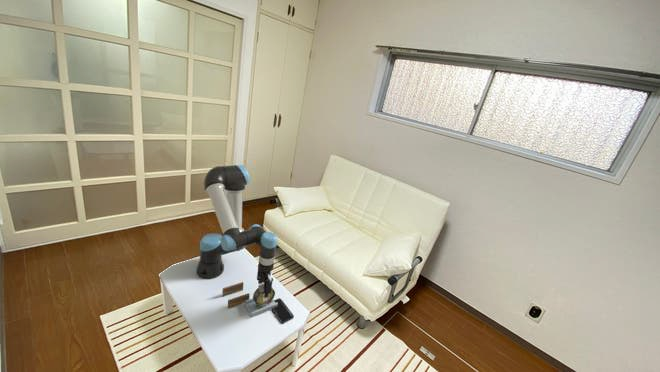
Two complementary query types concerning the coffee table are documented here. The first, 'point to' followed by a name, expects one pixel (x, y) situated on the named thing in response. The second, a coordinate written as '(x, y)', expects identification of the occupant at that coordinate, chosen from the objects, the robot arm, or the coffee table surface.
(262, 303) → the alarm clock
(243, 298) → the channel
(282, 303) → the phone
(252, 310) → the cradle
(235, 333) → the coffee table surface
